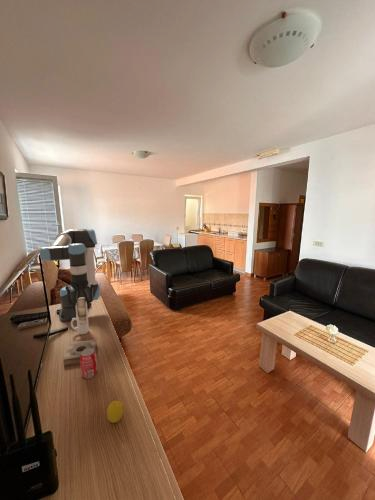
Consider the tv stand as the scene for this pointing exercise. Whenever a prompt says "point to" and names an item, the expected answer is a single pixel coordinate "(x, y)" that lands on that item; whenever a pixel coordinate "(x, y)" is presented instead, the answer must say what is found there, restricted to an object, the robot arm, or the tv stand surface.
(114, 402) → the lemon
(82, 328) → the mug
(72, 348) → the beige flat square block
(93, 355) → the soda can
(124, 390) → the tv stand surface
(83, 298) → the leg peg
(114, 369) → the tv stand surface
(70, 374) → the tv stand surface
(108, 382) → the tv stand surface
